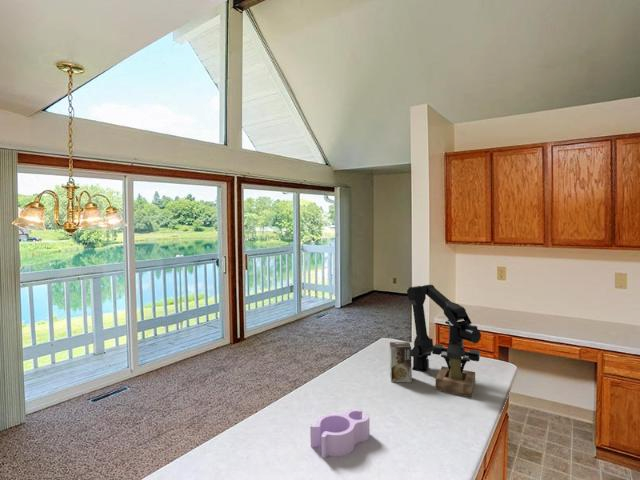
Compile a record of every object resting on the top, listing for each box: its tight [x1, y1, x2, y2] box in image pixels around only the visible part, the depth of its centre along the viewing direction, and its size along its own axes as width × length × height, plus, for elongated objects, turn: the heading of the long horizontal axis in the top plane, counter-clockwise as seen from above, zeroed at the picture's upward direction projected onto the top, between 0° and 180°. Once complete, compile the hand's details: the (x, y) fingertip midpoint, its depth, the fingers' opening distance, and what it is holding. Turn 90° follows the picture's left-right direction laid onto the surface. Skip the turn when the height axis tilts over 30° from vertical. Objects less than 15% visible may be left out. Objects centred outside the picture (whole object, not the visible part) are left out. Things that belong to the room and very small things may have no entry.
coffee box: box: [389, 341, 413, 383], centre depth 166 cm, size 9×6×16 cm
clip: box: [309, 408, 371, 459], centre depth 121 cm, size 20×12×7 cm, turn 123°
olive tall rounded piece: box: [449, 357, 463, 380], centre depth 158 cm, size 6×6×11 cm
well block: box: [434, 365, 476, 398], centre depth 159 cm, size 14×14×5 cm
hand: (455, 371), depth 159 cm, fingers closed on olive tall rounded piece, 4 cm apart
